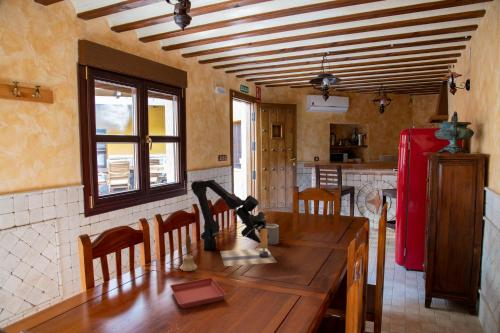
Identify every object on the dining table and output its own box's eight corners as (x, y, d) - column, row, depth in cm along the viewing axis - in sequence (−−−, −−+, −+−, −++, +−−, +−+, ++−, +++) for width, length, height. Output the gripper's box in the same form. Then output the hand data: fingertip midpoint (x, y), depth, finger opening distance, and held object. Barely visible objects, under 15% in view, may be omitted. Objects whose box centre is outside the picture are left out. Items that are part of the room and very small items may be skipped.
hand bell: (200, 266, 170) (199, 233, 169) (192, 272, 163) (191, 238, 161) (185, 264, 173) (184, 232, 172) (176, 270, 165) (175, 236, 164)
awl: (262, 258, 178) (262, 231, 177) (257, 255, 182) (257, 229, 181) (269, 256, 180) (269, 230, 179) (265, 254, 184) (265, 228, 183)
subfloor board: (224, 268, 167) (224, 266, 167) (219, 253, 190) (219, 251, 190) (277, 264, 172) (277, 262, 172) (266, 249, 194) (266, 248, 194)
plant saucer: (179, 312, 125) (179, 303, 125) (169, 292, 142) (169, 284, 141) (226, 302, 133) (226, 294, 132) (212, 284, 149) (212, 277, 149)
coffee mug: (272, 245, 202) (272, 228, 201) (258, 242, 208) (258, 226, 208) (285, 240, 212) (285, 224, 212) (272, 237, 219) (272, 221, 218)
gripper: (246, 210, 173) (266, 235, 169) (263, 204, 189) (282, 226, 185) (233, 224, 178) (252, 248, 173) (250, 217, 194) (268, 239, 189)
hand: (264, 240), depth 180 cm, fingers open, 9 cm apart
